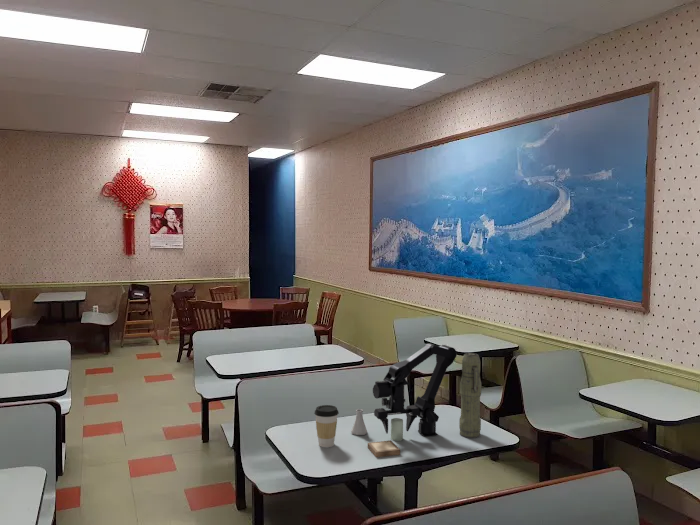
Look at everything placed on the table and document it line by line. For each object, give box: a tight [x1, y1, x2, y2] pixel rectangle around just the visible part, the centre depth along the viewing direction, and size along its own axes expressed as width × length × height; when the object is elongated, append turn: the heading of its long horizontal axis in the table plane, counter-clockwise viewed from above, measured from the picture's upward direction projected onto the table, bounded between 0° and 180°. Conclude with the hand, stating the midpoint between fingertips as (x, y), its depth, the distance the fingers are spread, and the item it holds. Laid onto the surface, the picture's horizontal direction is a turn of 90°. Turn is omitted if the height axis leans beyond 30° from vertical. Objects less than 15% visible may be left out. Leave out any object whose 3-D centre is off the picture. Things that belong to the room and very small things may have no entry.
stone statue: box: [458, 352, 482, 439], centre depth 241 cm, size 9×12×35 cm
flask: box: [350, 408, 368, 436], centre depth 243 cm, size 7×7×10 cm
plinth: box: [367, 439, 401, 458], centre depth 223 cm, size 10×10×2 cm
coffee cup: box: [314, 404, 339, 448], centre depth 229 cm, size 10×10×15 cm
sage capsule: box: [390, 417, 404, 442], centre depth 236 cm, size 5×5×8 cm
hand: (397, 432), depth 236 cm, fingers open, 9 cm apart
